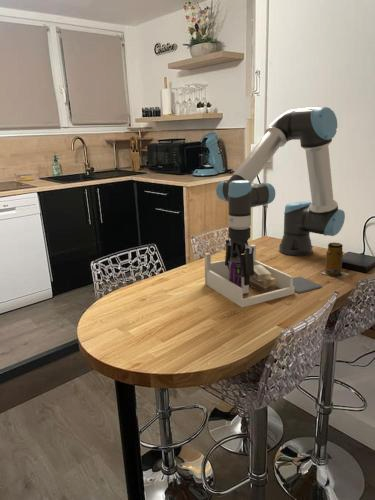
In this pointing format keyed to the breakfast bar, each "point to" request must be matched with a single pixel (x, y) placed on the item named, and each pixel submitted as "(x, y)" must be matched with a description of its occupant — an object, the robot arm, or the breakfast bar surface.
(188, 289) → the breakfast bar surface
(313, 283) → the coaster
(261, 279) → the offcut birch
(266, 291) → the offcut walnut
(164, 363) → the breakfast bar surface
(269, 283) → the offcut oak
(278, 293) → the frame
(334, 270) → the condiment
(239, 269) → the beverage can
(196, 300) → the breakfast bar surface
